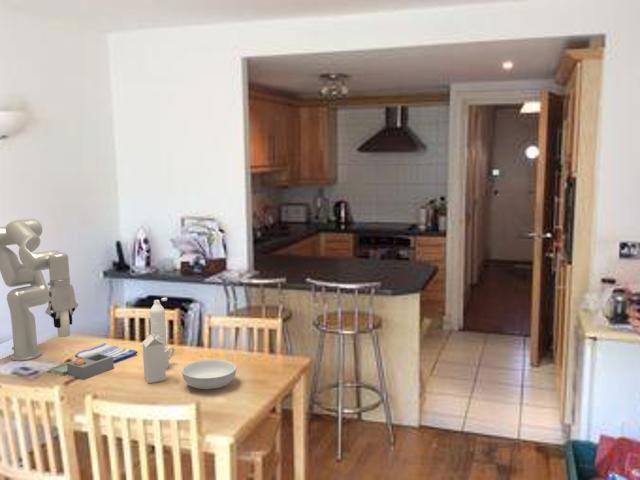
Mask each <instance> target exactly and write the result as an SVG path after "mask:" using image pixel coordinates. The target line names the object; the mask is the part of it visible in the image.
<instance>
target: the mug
mask: <svg viewBox="0 0 640 480" xmlns="http://www.w3.org/2000/svg"><path fill="white" fill-rule="evenodd" d="M166 346H167V345H166ZM166 346H164V351H165V371H166V370H167V369H169V367H170V363H169V361H170V359H171V358H172V357H173V355H174V353H175V348H174V347H173V346H171V345H170V346H168V347H166ZM170 349H171V353H170V355H169V352H170V351H169V350H170Z"/></svg>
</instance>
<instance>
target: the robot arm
mask: <svg viewBox="0 0 640 480" xmlns="http://www.w3.org/2000/svg"><path fill="white" fill-rule="evenodd" d="M42 233H43V226H42V223H41V222H40V221H38V220H37V219H36V218H27V219H16V220H12V221H10V222H8V223H7V225H5V226H0V275H1V277H2V280H3V282H4V285H6V286H7V287H9V288H12V287H13V288H14V289H11V290H10V291H8V292H7V295H6V301H7V305H8V309H9V313H10V320H11V329H12V332H11V333H12V341H13V346H12V347H11V350H12V351H13V353H12V354H11V355H10V360H12V361H15V360H16V361H17V362H18V361H19V362H20V361H21V362H22V361H29V360H33V359H37V358H39V357H41V356H42V355H43V354H42V353H43V352H42V350H40V349H38V337H37V336H38V335H37V326H36V325H37V323H36V317H35V315H34V313H33V312H31V310H30V308H33V307H34V308H35V307H38V306H43V305H46V304H47V307H46V309H45V314H47V315H48V316H49V317H51V318H52V319H53V326H54V328H60V327H61V326H60V318H58V317H59V312H60V311H64V310H68V309H69V322H70V326H71V325H73V315H74V312H75V310H76V309H77V308H78V307H79V304H78V303H77V301H76V294H75V290H74V287H73V284H71V278H70V267H69V265H70V264H69V255H68V254H67V252H60V251H58V250H48V251H47V250H46V251H38V252H35V251H36V250H37V249H38V248H39V246H40V244H41V238H40V237H41V235H42ZM12 245H17V246H18V247H19V248H18V255H17V254H16V252H14V251H13V250H12V249H10V248H9V247H7V246H12ZM18 257H19V258H18ZM45 270H48V272H49V281H48V282H46V280H45V278H44V275H43V271H45ZM48 286H49V287H48ZM15 287H17V288H15Z"/></svg>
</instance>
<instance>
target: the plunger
mask: <svg viewBox="0 0 640 480" xmlns="http://www.w3.org/2000/svg"><path fill="white" fill-rule="evenodd" d="M75 361H76V365H77V366H80V365H83V364H84V359H80V358H77V359H76V360H75Z"/></svg>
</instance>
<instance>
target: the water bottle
mask: <svg viewBox="0 0 640 480" xmlns="http://www.w3.org/2000/svg"><path fill="white" fill-rule="evenodd" d="M167 301H168V297H162V298H161V302H167ZM161 302H160V300H159V299H154V300H153V305H152V306H151V308H150V310H149V318H150V319H149V320H150V323H149V324H150V333H151V332H152V333H153V334H154V335H155V337H156V336H157V335H158V336H159V337H161V338H162V339H161V341H162V343H163V344H164V346H166V347H167V346H168V345H167V331H166V328H167V327H166V316H165V315H166V310H165V308H164V306H162V304H161Z"/></svg>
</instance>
